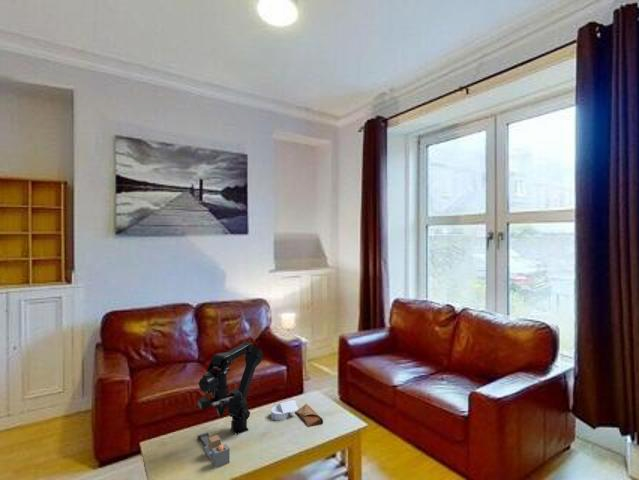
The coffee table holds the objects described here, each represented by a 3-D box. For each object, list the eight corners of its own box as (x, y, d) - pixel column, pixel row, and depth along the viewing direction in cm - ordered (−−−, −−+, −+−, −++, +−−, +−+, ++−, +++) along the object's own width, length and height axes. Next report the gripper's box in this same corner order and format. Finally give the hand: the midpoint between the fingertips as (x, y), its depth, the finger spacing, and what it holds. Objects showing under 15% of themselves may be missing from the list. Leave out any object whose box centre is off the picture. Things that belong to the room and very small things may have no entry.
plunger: (222, 451, 155) (222, 444, 155) (224, 453, 153) (224, 446, 153) (217, 453, 154) (217, 445, 154) (219, 455, 152) (219, 448, 152)
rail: (207, 436, 173) (207, 432, 173) (223, 457, 157) (223, 452, 157) (197, 439, 170) (197, 435, 170) (212, 461, 154) (212, 457, 154)
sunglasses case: (292, 411, 197) (298, 399, 199) (303, 415, 200) (308, 403, 202) (308, 427, 181) (314, 414, 183) (319, 432, 184) (325, 419, 186)
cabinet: (225, 457, 157) (225, 443, 157) (229, 462, 154) (229, 448, 153) (211, 463, 153) (211, 448, 153) (215, 468, 150) (215, 453, 150)
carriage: (219, 447, 163) (219, 432, 163) (224, 454, 159) (224, 439, 158) (204, 452, 160) (204, 437, 159) (209, 460, 155) (209, 444, 155)
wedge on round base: (291, 408, 201) (268, 414, 195) (291, 396, 201) (268, 401, 194) (298, 416, 193) (275, 422, 187) (298, 403, 193) (275, 408, 187)
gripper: (232, 372, 179) (232, 404, 179) (193, 381, 167) (193, 415, 168) (242, 380, 170) (242, 414, 170) (202, 390, 158) (201, 426, 159)
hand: (220, 417), depth 167 cm, fingers closed
